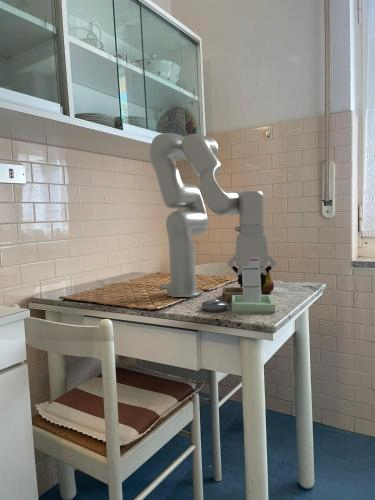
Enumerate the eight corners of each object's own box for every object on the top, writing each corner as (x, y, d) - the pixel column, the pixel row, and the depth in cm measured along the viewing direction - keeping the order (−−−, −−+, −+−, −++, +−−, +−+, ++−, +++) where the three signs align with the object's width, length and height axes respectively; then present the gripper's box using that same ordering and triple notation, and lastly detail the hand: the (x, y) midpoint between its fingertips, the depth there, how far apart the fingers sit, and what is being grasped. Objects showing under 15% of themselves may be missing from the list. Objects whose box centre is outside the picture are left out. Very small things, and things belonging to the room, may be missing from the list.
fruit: (268, 290, 146) (268, 259, 145) (276, 293, 141) (276, 261, 140) (255, 291, 145) (255, 260, 143) (263, 294, 139) (263, 262, 138)
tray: (231, 312, 116) (231, 304, 116) (232, 302, 129) (232, 295, 129) (274, 312, 115) (274, 304, 114) (271, 302, 127) (271, 295, 127)
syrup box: (261, 302, 118) (260, 256, 117) (242, 302, 119) (241, 256, 118) (261, 298, 124) (260, 254, 122) (243, 298, 125) (242, 254, 124)
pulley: (200, 312, 117) (200, 303, 117) (203, 306, 125) (203, 297, 125) (226, 312, 116) (226, 303, 116) (227, 306, 124) (227, 297, 124)
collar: (222, 301, 130) (222, 293, 130) (223, 295, 140) (223, 287, 140) (251, 301, 129) (251, 293, 128) (250, 295, 139) (250, 287, 138)
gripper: (223, 231, 117) (224, 288, 119) (280, 230, 115) (280, 289, 116) (224, 230, 124) (225, 284, 126) (278, 229, 122) (277, 284, 124)
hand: (251, 286), depth 121 cm, fingers closed on syrup box, 6 cm apart
